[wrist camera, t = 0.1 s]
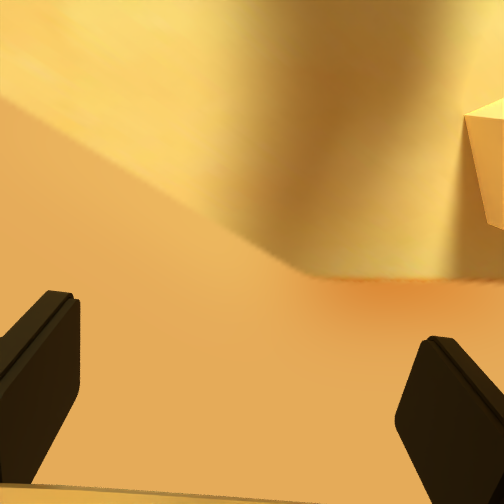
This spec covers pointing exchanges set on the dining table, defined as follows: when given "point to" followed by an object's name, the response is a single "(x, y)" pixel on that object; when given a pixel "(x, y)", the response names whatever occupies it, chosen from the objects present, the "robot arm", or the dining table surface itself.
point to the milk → (489, 157)
